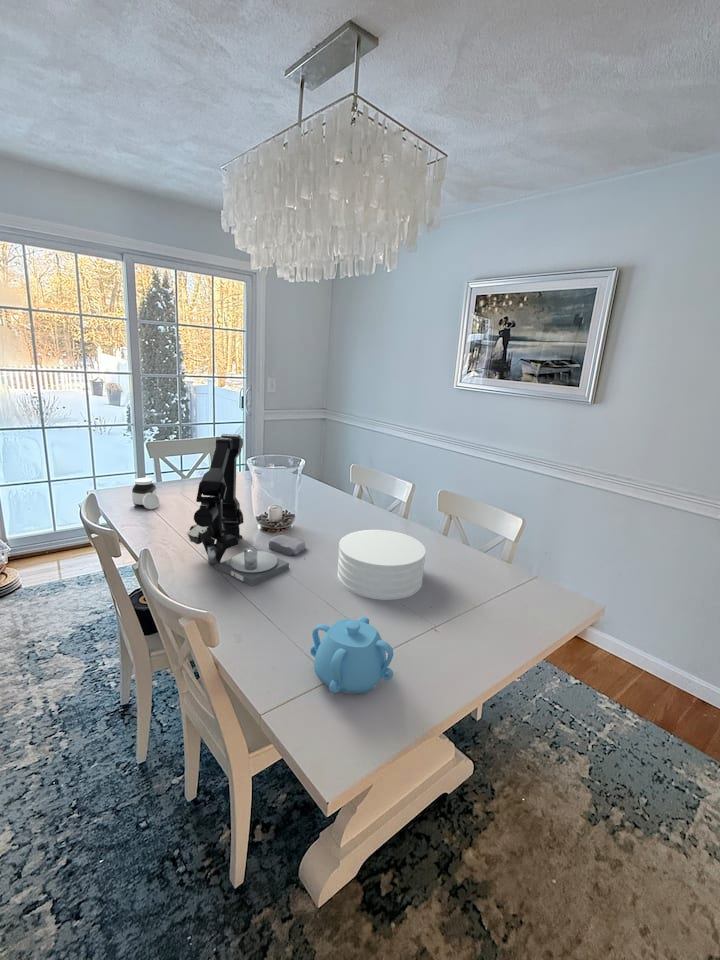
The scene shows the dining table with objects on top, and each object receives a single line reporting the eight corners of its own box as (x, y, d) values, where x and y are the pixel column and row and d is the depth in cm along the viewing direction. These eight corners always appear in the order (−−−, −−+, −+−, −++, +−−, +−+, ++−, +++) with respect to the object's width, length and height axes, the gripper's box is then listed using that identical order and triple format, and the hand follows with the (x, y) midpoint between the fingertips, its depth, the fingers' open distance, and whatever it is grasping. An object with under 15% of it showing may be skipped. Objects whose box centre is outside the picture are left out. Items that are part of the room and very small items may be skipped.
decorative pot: (321, 709, 92) (324, 653, 88) (307, 659, 107) (309, 608, 103) (395, 696, 97) (401, 642, 93) (371, 650, 112) (376, 601, 108)
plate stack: (377, 552, 168) (380, 523, 165) (439, 581, 149) (443, 549, 146) (319, 574, 148) (321, 542, 145) (381, 610, 130) (385, 574, 126)
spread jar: (144, 500, 205) (142, 476, 202) (167, 503, 204) (165, 478, 201) (127, 508, 194) (125, 483, 190) (151, 511, 192) (150, 485, 189)
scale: (217, 569, 146) (216, 561, 145) (256, 554, 159) (256, 546, 158) (250, 586, 137) (250, 577, 136) (288, 568, 150) (289, 560, 150)
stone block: (281, 545, 173) (265, 549, 164) (283, 533, 172) (267, 536, 163) (307, 553, 168) (292, 558, 159) (309, 541, 167) (294, 545, 158)
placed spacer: (241, 567, 142) (241, 550, 141) (251, 563, 146) (251, 546, 144) (250, 571, 140) (250, 554, 139) (259, 567, 143) (260, 550, 142)
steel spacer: (205, 562, 151) (205, 546, 149) (215, 558, 154) (215, 542, 152) (213, 566, 148) (212, 549, 147) (223, 562, 151) (222, 546, 150)
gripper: (174, 514, 145) (176, 558, 150) (209, 529, 135) (211, 576, 139) (203, 506, 154) (205, 548, 158) (239, 520, 144) (239, 564, 148)
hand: (214, 559), depth 151 cm, fingers open, 4 cm apart
